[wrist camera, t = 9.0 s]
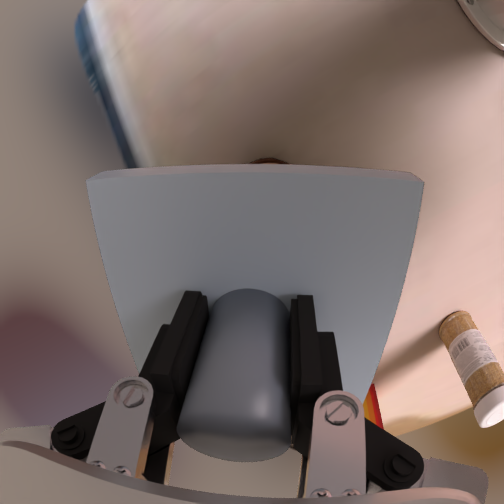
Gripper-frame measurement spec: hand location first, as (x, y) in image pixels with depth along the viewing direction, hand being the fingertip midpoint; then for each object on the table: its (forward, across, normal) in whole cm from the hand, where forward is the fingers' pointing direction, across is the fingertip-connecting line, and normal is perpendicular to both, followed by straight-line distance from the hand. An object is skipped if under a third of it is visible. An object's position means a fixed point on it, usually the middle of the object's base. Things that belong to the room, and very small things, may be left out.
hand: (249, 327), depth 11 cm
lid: (+2, 0, 0) cm, 2 cm away
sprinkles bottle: (+16, -22, +14) cm, 31 cm away
